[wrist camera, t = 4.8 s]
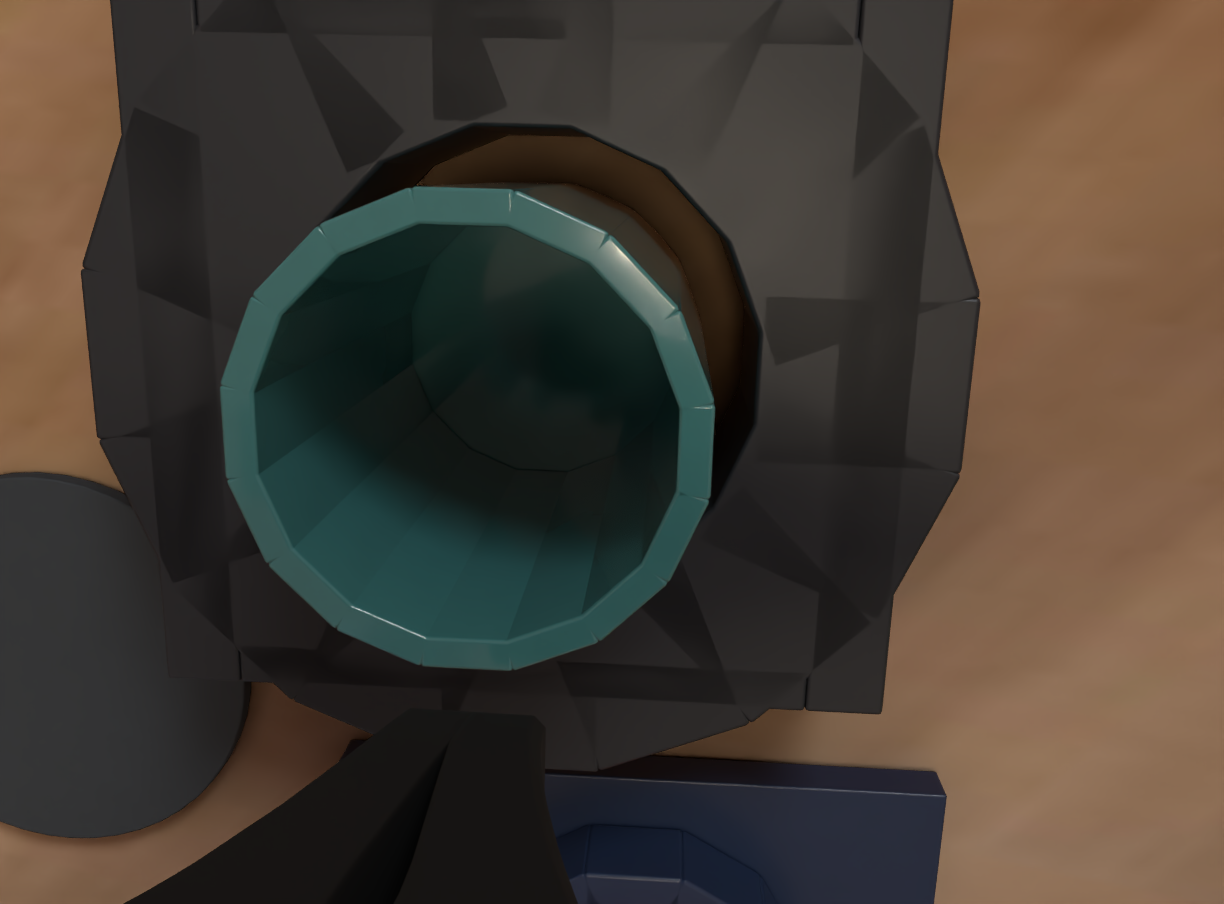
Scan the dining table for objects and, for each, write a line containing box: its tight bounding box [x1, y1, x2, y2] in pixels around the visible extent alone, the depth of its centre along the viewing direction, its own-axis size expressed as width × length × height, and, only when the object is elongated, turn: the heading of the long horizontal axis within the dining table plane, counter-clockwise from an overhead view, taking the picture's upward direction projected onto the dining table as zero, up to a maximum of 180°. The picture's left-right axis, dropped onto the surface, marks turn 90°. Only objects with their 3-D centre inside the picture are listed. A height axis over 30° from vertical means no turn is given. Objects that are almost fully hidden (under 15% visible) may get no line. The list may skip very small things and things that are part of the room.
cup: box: [220, 182, 715, 671], centre depth 16 cm, size 6×6×8 cm
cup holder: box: [81, 0, 980, 772], centre depth 18 cm, size 14×14×4 cm
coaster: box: [0, 472, 251, 838], centre depth 22 cm, size 8×8×1 cm
